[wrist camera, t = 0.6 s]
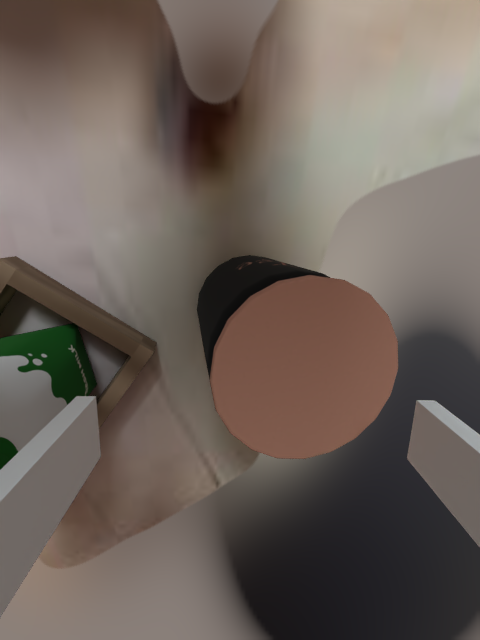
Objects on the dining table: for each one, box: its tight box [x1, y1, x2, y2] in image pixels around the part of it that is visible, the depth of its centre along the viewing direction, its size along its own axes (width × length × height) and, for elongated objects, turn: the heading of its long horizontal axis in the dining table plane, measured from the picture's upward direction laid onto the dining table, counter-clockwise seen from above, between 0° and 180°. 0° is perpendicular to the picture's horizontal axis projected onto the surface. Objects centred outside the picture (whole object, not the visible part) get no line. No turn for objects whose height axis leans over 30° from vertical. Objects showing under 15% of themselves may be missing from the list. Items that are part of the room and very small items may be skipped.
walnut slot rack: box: [0, 256, 156, 428], centre depth 32 cm, size 28×15×3 cm, turn 143°
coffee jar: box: [197, 255, 398, 459], centre depth 26 cm, size 11×11×18 cm
